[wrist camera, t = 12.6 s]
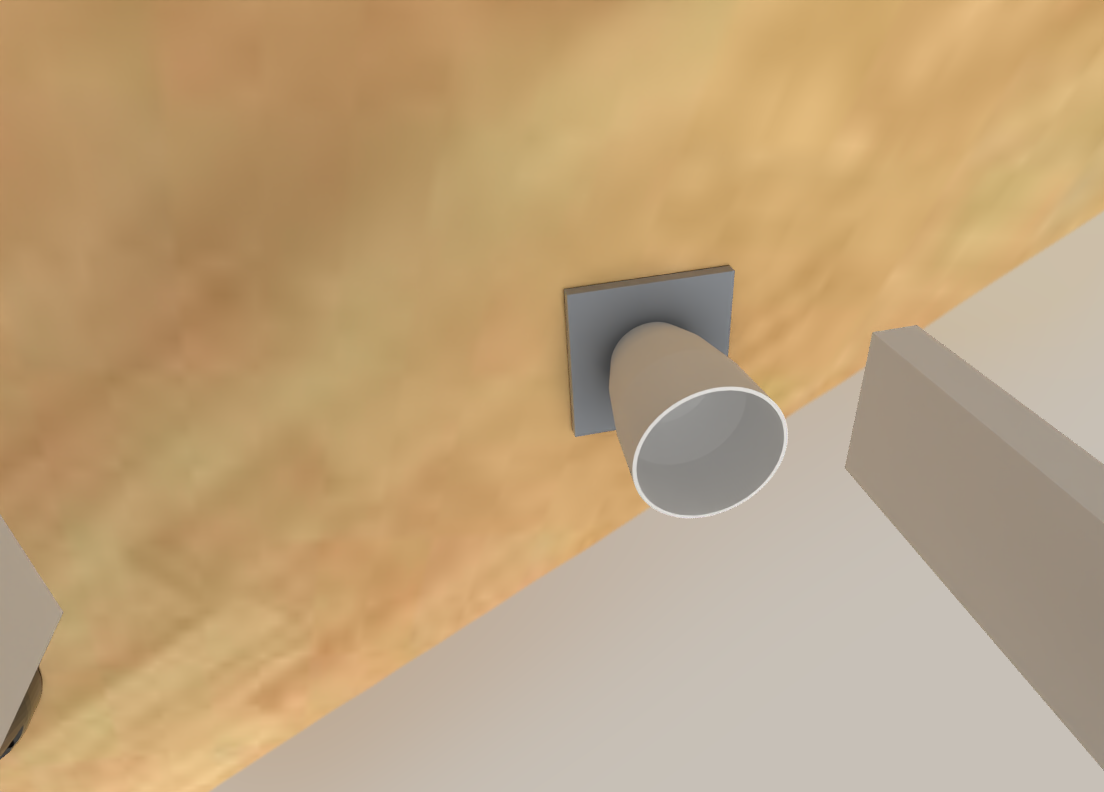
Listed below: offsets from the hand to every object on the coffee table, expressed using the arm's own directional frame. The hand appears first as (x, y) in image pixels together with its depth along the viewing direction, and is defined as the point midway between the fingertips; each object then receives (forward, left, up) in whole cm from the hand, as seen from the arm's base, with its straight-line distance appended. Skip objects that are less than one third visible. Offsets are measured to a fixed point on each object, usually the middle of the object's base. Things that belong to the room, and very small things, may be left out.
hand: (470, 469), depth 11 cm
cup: (+12, -16, -28) cm, 34 cm away
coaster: (+12, -16, -29) cm, 35 cm away
